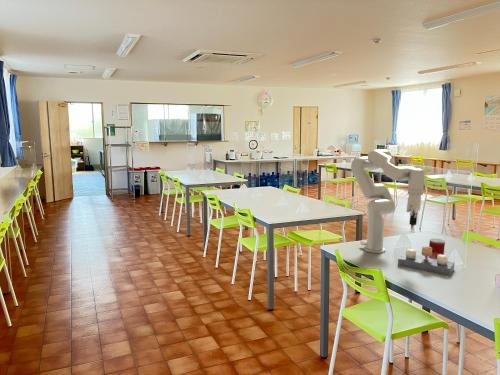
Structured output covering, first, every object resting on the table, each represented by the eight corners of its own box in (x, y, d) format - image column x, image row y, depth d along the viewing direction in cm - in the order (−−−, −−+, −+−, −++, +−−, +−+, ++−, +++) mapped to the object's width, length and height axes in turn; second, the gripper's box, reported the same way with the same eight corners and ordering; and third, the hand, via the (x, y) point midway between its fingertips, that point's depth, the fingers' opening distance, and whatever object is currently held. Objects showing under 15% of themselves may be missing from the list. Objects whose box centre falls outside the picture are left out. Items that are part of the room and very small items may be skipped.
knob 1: (404, 263, 228) (405, 250, 227) (407, 261, 232) (407, 248, 231) (413, 265, 225) (414, 252, 224) (416, 263, 229) (417, 250, 228)
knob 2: (435, 269, 219) (436, 256, 217) (437, 267, 223) (438, 253, 221) (445, 271, 216) (446, 258, 214) (447, 269, 220) (448, 255, 218)
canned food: (444, 261, 234) (446, 242, 233) (429, 260, 236) (431, 241, 234) (441, 257, 242) (443, 239, 240) (427, 256, 243) (428, 238, 242)
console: (397, 265, 227) (398, 258, 226) (404, 259, 236) (404, 253, 236) (449, 276, 211) (449, 268, 211) (453, 269, 221) (454, 262, 220)
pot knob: (419, 261, 223) (421, 247, 222) (422, 258, 227) (423, 245, 225) (429, 263, 220) (430, 249, 219) (432, 260, 224) (433, 246, 223)
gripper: (412, 188, 230) (409, 220, 233) (404, 192, 218) (401, 226, 221) (426, 190, 226) (423, 223, 229) (419, 194, 214) (416, 228, 217)
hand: (412, 224), depth 225 cm, fingers closed
